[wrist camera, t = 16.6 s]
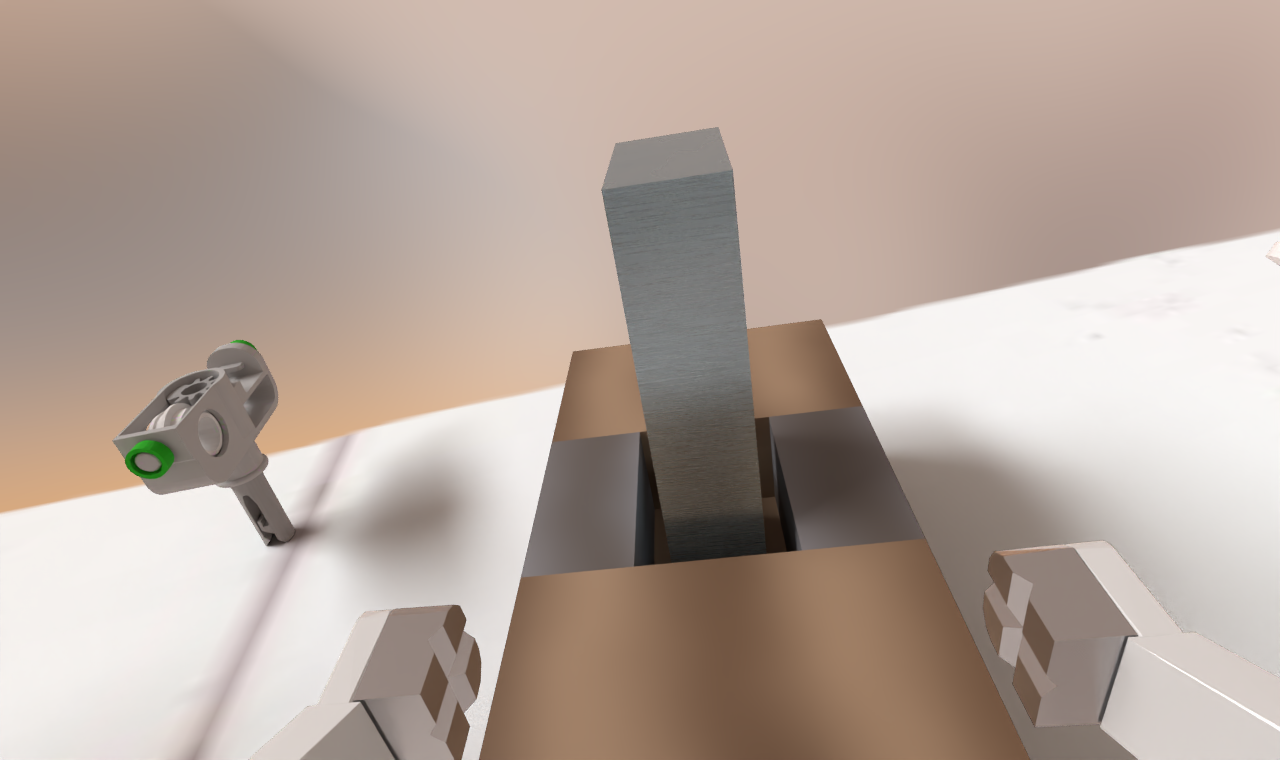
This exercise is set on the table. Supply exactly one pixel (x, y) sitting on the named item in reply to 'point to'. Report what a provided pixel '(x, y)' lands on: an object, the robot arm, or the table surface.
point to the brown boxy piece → (737, 594)
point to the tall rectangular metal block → (689, 337)
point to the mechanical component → (211, 435)
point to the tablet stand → (1275, 253)
